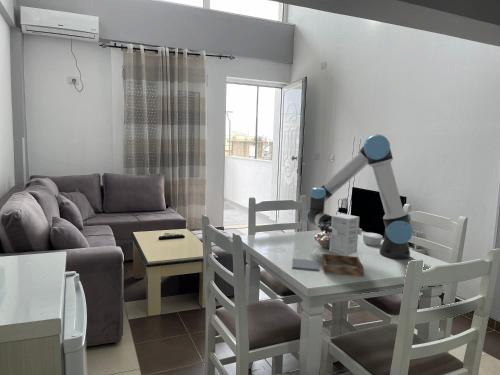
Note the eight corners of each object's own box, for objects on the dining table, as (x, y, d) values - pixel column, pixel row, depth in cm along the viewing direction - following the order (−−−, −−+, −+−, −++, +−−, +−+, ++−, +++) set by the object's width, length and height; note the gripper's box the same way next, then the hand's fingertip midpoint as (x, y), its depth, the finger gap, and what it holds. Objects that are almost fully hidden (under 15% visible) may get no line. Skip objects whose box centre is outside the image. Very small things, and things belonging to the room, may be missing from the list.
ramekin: (379, 247, 214) (380, 238, 213) (359, 244, 219) (360, 235, 218) (383, 243, 223) (384, 234, 223) (364, 239, 229) (365, 231, 228)
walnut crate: (357, 263, 182) (357, 256, 182) (363, 276, 165) (363, 268, 165) (321, 260, 184) (322, 253, 184) (323, 272, 167) (324, 265, 167)
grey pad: (317, 262, 181) (317, 260, 181) (319, 271, 169) (319, 269, 169) (292, 260, 182) (292, 258, 182) (292, 268, 170) (292, 266, 170)
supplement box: (357, 252, 173) (360, 216, 171) (346, 256, 167) (349, 219, 165) (339, 247, 180) (342, 213, 178) (328, 250, 174) (331, 215, 172)
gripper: (345, 228, 193) (371, 239, 173) (302, 229, 186) (324, 241, 166) (346, 214, 193) (372, 223, 172) (303, 214, 185) (325, 224, 165)
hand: (349, 232), depth 169 cm, fingers closed on supplement box, 12 cm apart
